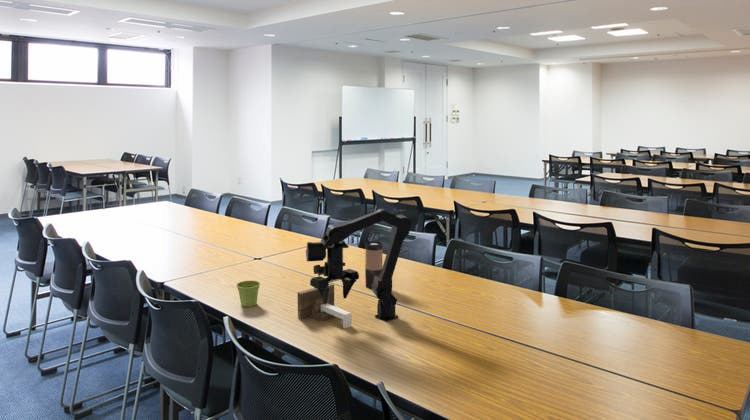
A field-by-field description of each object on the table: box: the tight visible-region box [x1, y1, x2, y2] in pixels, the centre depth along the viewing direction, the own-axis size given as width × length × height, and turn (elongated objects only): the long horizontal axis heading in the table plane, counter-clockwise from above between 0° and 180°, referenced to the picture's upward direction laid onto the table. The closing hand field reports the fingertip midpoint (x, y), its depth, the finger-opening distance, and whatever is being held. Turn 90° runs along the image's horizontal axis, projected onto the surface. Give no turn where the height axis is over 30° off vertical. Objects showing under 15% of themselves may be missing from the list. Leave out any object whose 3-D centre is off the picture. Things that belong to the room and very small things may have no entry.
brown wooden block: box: [297, 283, 336, 322], centre depth 196 cm, size 8×16×10 cm, turn 134°
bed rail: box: [321, 303, 352, 329], centre depth 191 cm, size 14×3×5 cm, turn 44°
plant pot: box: [235, 280, 261, 308], centre depth 208 cm, size 9×9×9 cm
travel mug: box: [364, 240, 383, 290], centre depth 231 cm, size 8×8×20 cm
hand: (335, 301), depth 190 cm, fingers open, 9 cm apart
